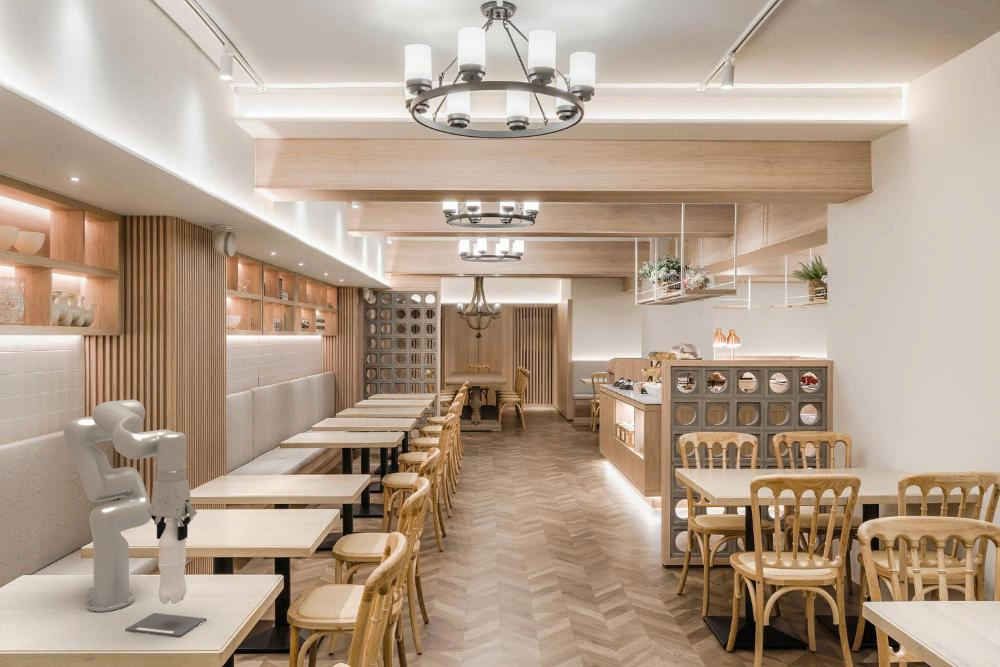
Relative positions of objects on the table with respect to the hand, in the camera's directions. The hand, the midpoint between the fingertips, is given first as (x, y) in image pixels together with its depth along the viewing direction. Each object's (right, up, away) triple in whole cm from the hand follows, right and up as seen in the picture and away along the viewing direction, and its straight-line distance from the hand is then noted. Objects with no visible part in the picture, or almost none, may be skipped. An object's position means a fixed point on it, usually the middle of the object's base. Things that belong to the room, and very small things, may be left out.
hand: (172, 537), depth 189 cm
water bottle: (0, -18, 0) cm, 18 cm away
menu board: (-2, -25, 0) cm, 26 cm away
